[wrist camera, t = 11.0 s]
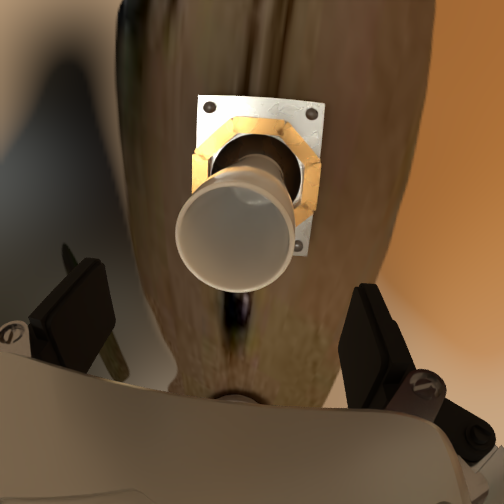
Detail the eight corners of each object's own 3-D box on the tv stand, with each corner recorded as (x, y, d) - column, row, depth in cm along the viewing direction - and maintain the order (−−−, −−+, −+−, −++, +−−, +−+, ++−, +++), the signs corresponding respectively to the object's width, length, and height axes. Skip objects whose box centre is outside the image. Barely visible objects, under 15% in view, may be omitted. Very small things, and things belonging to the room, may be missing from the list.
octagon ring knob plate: (206, 96, 31) (194, 94, 26) (319, 103, 31) (327, 103, 26) (203, 232, 38) (192, 252, 33) (304, 241, 38) (308, 262, 33)
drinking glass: (222, 144, 29) (169, 177, 16) (293, 147, 29) (302, 184, 15) (222, 210, 32) (177, 289, 19) (288, 214, 32) (290, 299, 18)
